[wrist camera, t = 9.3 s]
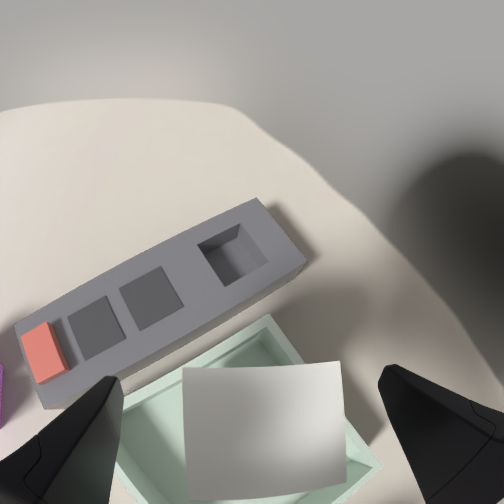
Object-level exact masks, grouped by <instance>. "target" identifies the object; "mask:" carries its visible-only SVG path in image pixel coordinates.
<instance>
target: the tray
mask: <svg viewBox="0 0 504 504" xmlns="http://www.w3.org/2000/svg"><path fill="white" fill-rule="evenodd" d="M301 364H306V363H305V362H304V361H303V359H302V358H301V357H300V355H299V354H298V352H297V351H296V350H295V348H294V347H293V346H292V344H291V343H290V341H289V340H288V339H287V337H286V336H285V334H284V333H283V332H282V330H281V329H280V328H279V326H278V325H277V323H276V322H275V321H274V319H273V318H272V316H271V315H270V314H269V313H268V314H266V315H264V316H263V317H261V318H260V319H258V320H257V321H255V322H254V323H252V324H250V325H249V326H247V327H246V328H244V329H242V330H241V331H239V332H238V333H236V334H234V335H233V336H231V337H230V338H228V339H226V340H225V341H223V342H221V343H220V344H218V345H216V346H215V347H213V348H211V349H210V350H208V351H206V352H205V353H203V354H201V355H200V356H198V357H196V358H195V359H193V360H191V361H189V362H188V363H186V364H184V365H182V366H181V367H179V368H177V369H175V370H174V371H172V372H170V373H168V374H166V375H165V376H163V377H161V378H159V379H157V380H156V381H154V382H152V383H150V384H148V385H146V386H145V387H143V388H141V389H139V390H137V391H135V392H133V393H131V394H129V395H127V396H126V397H124V404H123V413H122V423H121V434H120V442H119V447H118V452H117V457H116V462H115V468H114V474H115V475H116V476H117V478H118V479H119V480H120V482H121V483H122V484H123V486H124V487H125V488H126V489H127V491H128V492H129V493H130V495H131V496H132V497H133V498H134V499H135V501H136V502H137V503H138V504H342V503H343V502H344V501H345V500H347V499H348V498H349V497H350V496H352V495H353V494H354V493H355V492H356V491H357V490H359V489H360V488H361V487H362V486H363V485H364V484H365V483H367V482H368V481H369V480H370V479H371V478H372V477H373V476H374V475H375V474H376V473H377V472H378V471H379V470H380V469H381V468H383V467H384V466H383V465H382V464H381V462H380V461H379V460H378V459H377V457H376V456H375V455H374V454H373V452H372V451H371V450H370V448H369V447H368V446H367V444H366V443H365V442H364V441H363V439H362V438H361V437H360V435H359V434H358V433H357V431H356V430H355V429H354V428H353V426H352V425H351V424H350V422H349V421H348V420H347V418H346V417H345V433H346V460H347V482H346V483H343V484H339V485H335V486H331V487H326V488H322V489H317V490H313V491H308V492H302V493H296V494H290V495H284V496H276V497H268V498H258V499H245V500H223V501H201V500H189V498H188V488H187V476H186V463H185V448H184V427H183V393H182V367H201V368H243V367H271V366H288V365H301Z"/></svg>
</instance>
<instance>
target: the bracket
mask: <svg viewBox="0 0 504 504" xmlns="http://www.w3.org/2000/svg"><path fill="white" fill-rule="evenodd" d="M3 370H4V366H2V365H0V429H1V394H2V380H3Z"/></svg>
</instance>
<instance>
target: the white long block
mask: <svg viewBox="0 0 504 504" xmlns="http://www.w3.org/2000/svg"><path fill="white" fill-rule="evenodd" d="M182 393H183V427H184V448H185V463H186V476H187V488H188V498H189V500H201V501H223V500H245V499H258V498H268V497H276V496H284V495H290V494H296V493H302V492H308V491H313V490H317V489H322V488H326V487H331V486H335V485H339V484H343V483H346V482H347V460H346V433H345V415H344V400H343V388H342V377H341V366H340V361H332V362H323V363H313V364H301V365H288V366H271V367H243V368H201V367H182Z"/></svg>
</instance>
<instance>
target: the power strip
mask: <svg viewBox="0 0 504 504" xmlns="http://www.w3.org/2000/svg"><path fill="white" fill-rule="evenodd" d="M306 262H307V260H306V259H305V257H304V256H303V255H302V253H301V252H300V251H299V250H298V248H297V247H296V246H295V244H294V243H293V242H292V241H291V239H290V238H289V237H288V236H287V234H286V233H285V232H284V231H283V229H282V228H281V227H280V226H279V224H278V223H277V222H276V221H275V219H274V218H273V217H272V216H271V214H270V213H269V212H268V211H267V210H266V208H265V207H264V206H263V205H262V203H261V202H260V201H259V200H258V199H257V198H254V199H252V200H250V201H248V202H245V203H243V204H241V205H239V206H237V207H234V208H232V209H230V210H228V211H226V212H224V213H222V214H219V215H217V216H215V217H213V218H211V219H209V220H207V221H205V222H203V223H200V224H198V225H196V226H194V227H192V228H190V229H188V230H186V231H184V232H182V233H180V234H178V235H176V236H174V237H172V238H170V239H168V240H166V241H164V242H162V243H160V244H158V245H156V246H154V247H152V248H150V249H148V250H146V251H144V252H142V253H140V254H138V255H136V256H135V257H133V258H131V259H129V260H127V261H125V262H123V263H121V264H119V265H117V266H116V267H114V268H112V269H110V270H108V271H106V272H104V273H103V274H101V275H99V276H97V277H95V278H94V279H92V280H90V281H88V282H86V283H85V284H83V285H81V286H79V287H77V288H76V289H74V290H72V291H70V292H69V293H67V294H65V295H63V296H62V297H60V298H58V299H56V300H55V301H53V302H51V303H50V304H48V305H46V306H45V307H43V308H41V309H39V310H38V311H36V312H34V313H33V314H31V315H30V316H28V317H26V318H25V319H23V320H21V321H20V322H18V323H17V324H15V325H14V328H15V332H16V335H17V339H18V342H19V345H20V348H21V352H22V355H23V358H24V361H25V363H26V366H27V369H28V372H29V374H30V377H31V380H32V382H33V385H34V387H35V390H36V392H37V394H38V397H39V399H40V401H41V403H42V406H43V408H44V409H65V408H67V407H69V406H70V405H71V404H73V403H74V402H75V401H76V400H77V399H78V398H80V397H81V396H82V395H83V394H84V393H85V392H87V391H88V390H89V389H90V388H91V387H93V386H94V385H95V384H96V383H97V382H98V381H100V380H101V379H102V378H103V377H104V376H106V375H109V376H116V377H118V378H119V380H120V381H121V380H123V379H124V378H126V377H128V376H130V375H132V374H134V373H136V372H138V371H139V370H141V369H143V368H145V367H147V366H149V365H150V364H152V363H154V362H156V361H158V360H159V359H161V358H163V357H165V356H167V355H168V354H170V353H172V352H174V351H175V350H177V349H179V348H181V347H182V346H184V345H186V344H188V343H189V342H191V341H193V340H195V339H196V338H198V337H200V336H201V335H203V334H205V333H207V332H208V331H210V330H212V329H213V328H215V327H217V326H218V325H220V324H222V323H223V322H225V321H227V320H228V319H230V318H232V317H233V316H235V315H237V314H238V313H240V312H242V311H243V310H245V309H247V308H248V307H250V306H251V305H253V304H255V303H256V302H258V301H259V300H261V299H263V298H264V297H266V296H267V295H269V294H271V293H272V292H274V291H275V290H277V289H279V288H280V287H282V286H283V285H285V284H286V283H288V282H289V281H291V280H293V279H294V278H295V277H296V276H297V274H298V273H299V272H300V270H301V269H302V268H303V266H304V265H305V264H306Z"/></svg>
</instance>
